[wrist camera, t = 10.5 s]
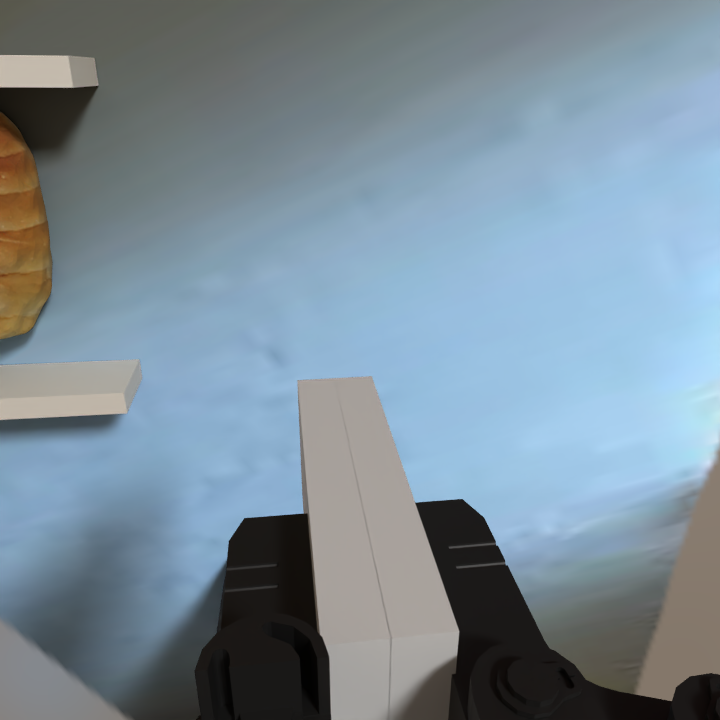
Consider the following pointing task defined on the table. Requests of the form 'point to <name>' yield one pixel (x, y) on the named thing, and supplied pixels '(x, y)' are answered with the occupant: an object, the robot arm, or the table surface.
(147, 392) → the table surface
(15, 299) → the pastry
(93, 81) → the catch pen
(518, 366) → the table surface
